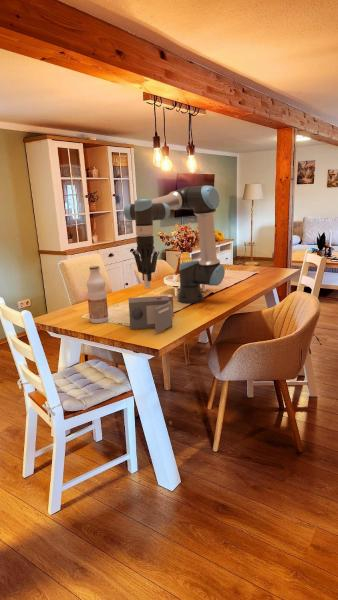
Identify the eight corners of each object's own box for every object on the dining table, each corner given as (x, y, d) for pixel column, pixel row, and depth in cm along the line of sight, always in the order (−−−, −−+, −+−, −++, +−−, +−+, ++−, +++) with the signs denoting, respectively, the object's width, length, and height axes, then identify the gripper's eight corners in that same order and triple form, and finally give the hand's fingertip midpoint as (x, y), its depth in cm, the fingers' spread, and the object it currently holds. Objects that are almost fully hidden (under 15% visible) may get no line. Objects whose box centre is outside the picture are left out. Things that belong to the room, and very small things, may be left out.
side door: (170, 325, 189) (169, 301, 186) (173, 325, 188) (172, 301, 185) (155, 333, 179) (154, 307, 176) (158, 333, 178) (156, 308, 175)
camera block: (168, 320, 198) (167, 293, 194) (171, 327, 188) (169, 299, 184) (130, 323, 196) (128, 296, 192) (130, 330, 186) (128, 301, 182)
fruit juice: (97, 324, 196) (92, 268, 189) (86, 321, 203) (80, 267, 196) (112, 320, 203) (107, 265, 196) (100, 317, 209) (96, 264, 202)
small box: (158, 317, 204) (157, 297, 201) (156, 314, 209) (155, 295, 207) (173, 316, 205) (173, 296, 203) (171, 313, 211) (170, 293, 208)
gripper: (127, 236, 174) (130, 288, 180) (153, 236, 168) (155, 290, 174) (136, 234, 180) (139, 285, 186) (161, 234, 174) (164, 287, 180)
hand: (147, 287), depth 180 cm, fingers closed
